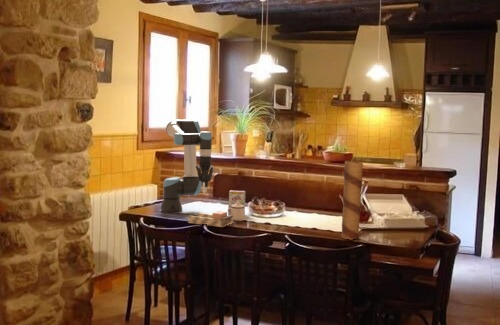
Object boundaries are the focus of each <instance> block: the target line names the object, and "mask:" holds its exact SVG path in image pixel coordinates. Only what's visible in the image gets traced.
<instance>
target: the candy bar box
mask: <svg viewBox="0 0 500 325" xmlns="http://www.w3.org/2000/svg"><path fill="white" fill-rule="evenodd" d="M236 202H239V204H241V205H244V215H245V214H246V213H245V212H246V211H245V210H246V190H232V189H231V190H229V191H228V206H227V207H228V208H231V205H234V204H236ZM228 208H227V209H228ZM229 212H230V214H231V209H229ZM227 216H229V213H228V212H227Z"/></svg>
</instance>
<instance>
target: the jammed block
mask: <svg viewBox="0 0 500 325" xmlns="http://www.w3.org/2000/svg"><path fill="white" fill-rule="evenodd" d="M212 215H213V218H214V219H220V218H223V217H226V216H228V211H220V210H219V211H216V212H212Z"/></svg>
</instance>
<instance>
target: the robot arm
mask: <svg viewBox="0 0 500 325" xmlns="http://www.w3.org/2000/svg"><path fill="white" fill-rule="evenodd" d="M165 131H166V133H167V135H168V136H169V137H172V138H173V144H174V146H183V158H184V163H183V164H184V165H183V167H184V174H183V175H182V179H181V177H179V176H178V177H177V176H174V177H172V176H171V177H167V178H165V179H164V180H163V183H162V184H163V185H162V186H163V190H162V191H163V193H162V194H163V196H162V197H163V198H162V199H163V200H162V203H161V206H160V211H161V212H162V211H163V213H180V212H182V211H183V206H182V202H181V196H182V197H184V196H190V197H191V196H192V197H193V196H199V195H200V193H201V191H202V193H207V191H208V190H207V189H208V187H209V182H211V180H212V177H213V172H214V170H215V167H214V166H213V165H212V143H213V142H212V139H213V136H212V135H213V134H212V133H213V132H211V131H201V127H200V123H199V121H198V120H197V119H174V120H171V121H169V123H167V125H166V127H165ZM197 146H199V163H198V165H197Z"/></svg>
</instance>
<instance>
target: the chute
mask: <svg viewBox="0 0 500 325" xmlns="http://www.w3.org/2000/svg"><path fill="white" fill-rule="evenodd" d="M187 223H188V224H195V225H202V224H207V225H206V226H211V227H217V228H219V227H220V228H224V227H227V226H229V224H230V225H232V223H233V224H234V220H233V215H227V216H226V217H223V218H220V219H214V218H213V213H212V214H210V213H204V212H203V213H202V212H198V213H197V215H188V221H187ZM226 225H227V226H226Z"/></svg>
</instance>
